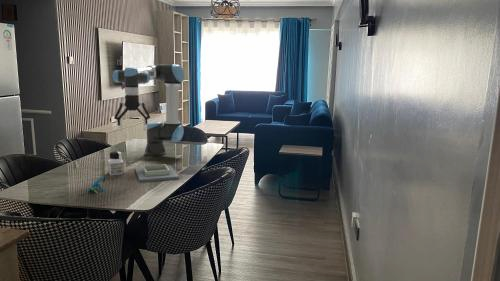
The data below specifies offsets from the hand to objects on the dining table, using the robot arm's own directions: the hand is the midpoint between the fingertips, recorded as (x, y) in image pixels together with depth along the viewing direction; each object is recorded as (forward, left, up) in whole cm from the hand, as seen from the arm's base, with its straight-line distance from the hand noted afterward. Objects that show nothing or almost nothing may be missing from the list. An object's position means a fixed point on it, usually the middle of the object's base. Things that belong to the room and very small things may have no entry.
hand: (132, 130), depth 225 cm
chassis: (+7, +12, -26) cm, 29 cm away
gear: (+29, -22, -26) cm, 44 cm away
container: (-2, -10, -26) cm, 28 cm away
